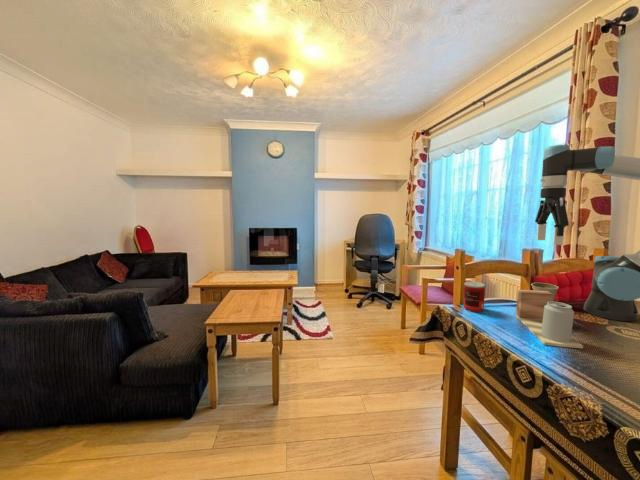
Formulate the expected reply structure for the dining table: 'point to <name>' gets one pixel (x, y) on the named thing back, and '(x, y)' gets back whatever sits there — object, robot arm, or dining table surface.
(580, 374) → the dining table surface
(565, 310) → the can
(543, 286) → the flower pot
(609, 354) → the dining table surface
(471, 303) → the canned food
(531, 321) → the wooden bracket
